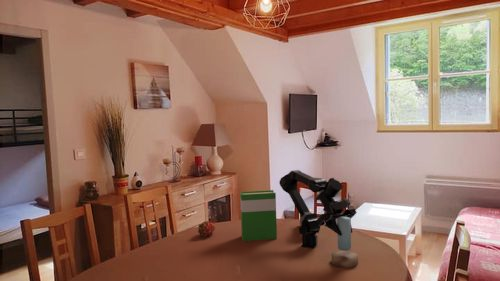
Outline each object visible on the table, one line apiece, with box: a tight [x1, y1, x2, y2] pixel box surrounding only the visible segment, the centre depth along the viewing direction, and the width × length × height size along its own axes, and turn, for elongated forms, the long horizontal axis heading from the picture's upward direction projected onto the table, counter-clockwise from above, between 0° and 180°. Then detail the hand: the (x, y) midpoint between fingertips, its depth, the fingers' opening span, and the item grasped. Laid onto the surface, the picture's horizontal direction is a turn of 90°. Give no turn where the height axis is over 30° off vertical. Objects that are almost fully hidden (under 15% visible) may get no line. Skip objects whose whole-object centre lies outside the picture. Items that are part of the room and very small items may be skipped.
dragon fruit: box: [197, 220, 216, 238], centre depth 201 cm, size 8×8×12 cm
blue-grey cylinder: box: [336, 217, 352, 251], centre depth 158 cm, size 6×6×13 cm
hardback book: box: [239, 189, 278, 242], centre depth 194 cm, size 18×7×24 cm, turn 96°
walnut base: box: [331, 250, 359, 269], centre depth 159 cm, size 11×11×3 cm
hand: (346, 234), depth 157 cm, fingers closed on blue-grey cylinder, 5 cm apart
